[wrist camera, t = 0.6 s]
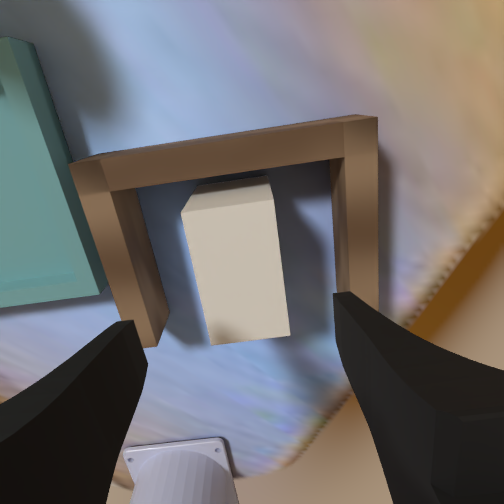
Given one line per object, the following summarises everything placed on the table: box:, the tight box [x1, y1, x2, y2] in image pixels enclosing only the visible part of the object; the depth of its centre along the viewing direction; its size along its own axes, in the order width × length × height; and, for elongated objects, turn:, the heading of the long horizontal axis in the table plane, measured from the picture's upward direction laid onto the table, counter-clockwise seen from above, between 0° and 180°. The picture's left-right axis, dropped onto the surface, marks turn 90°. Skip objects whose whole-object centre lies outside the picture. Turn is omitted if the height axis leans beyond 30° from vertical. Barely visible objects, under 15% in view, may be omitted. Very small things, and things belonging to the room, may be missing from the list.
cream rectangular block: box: [181, 175, 290, 346], centre depth 19 cm, size 8×4×6 cm, turn 8°
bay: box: [68, 114, 379, 348], centre depth 19 cm, size 10×14×4 cm
